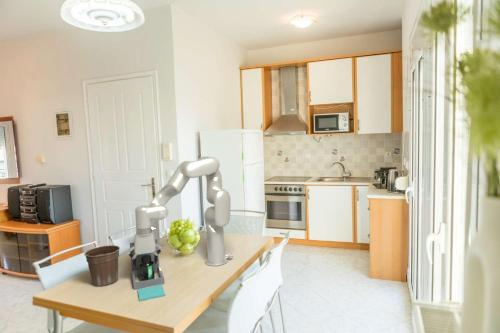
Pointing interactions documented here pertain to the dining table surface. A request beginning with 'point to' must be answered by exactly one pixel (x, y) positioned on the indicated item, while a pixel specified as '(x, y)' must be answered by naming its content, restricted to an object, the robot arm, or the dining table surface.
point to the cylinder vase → (156, 230)
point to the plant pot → (103, 264)
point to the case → (137, 270)
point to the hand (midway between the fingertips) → (145, 264)
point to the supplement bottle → (146, 268)
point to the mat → (151, 292)
